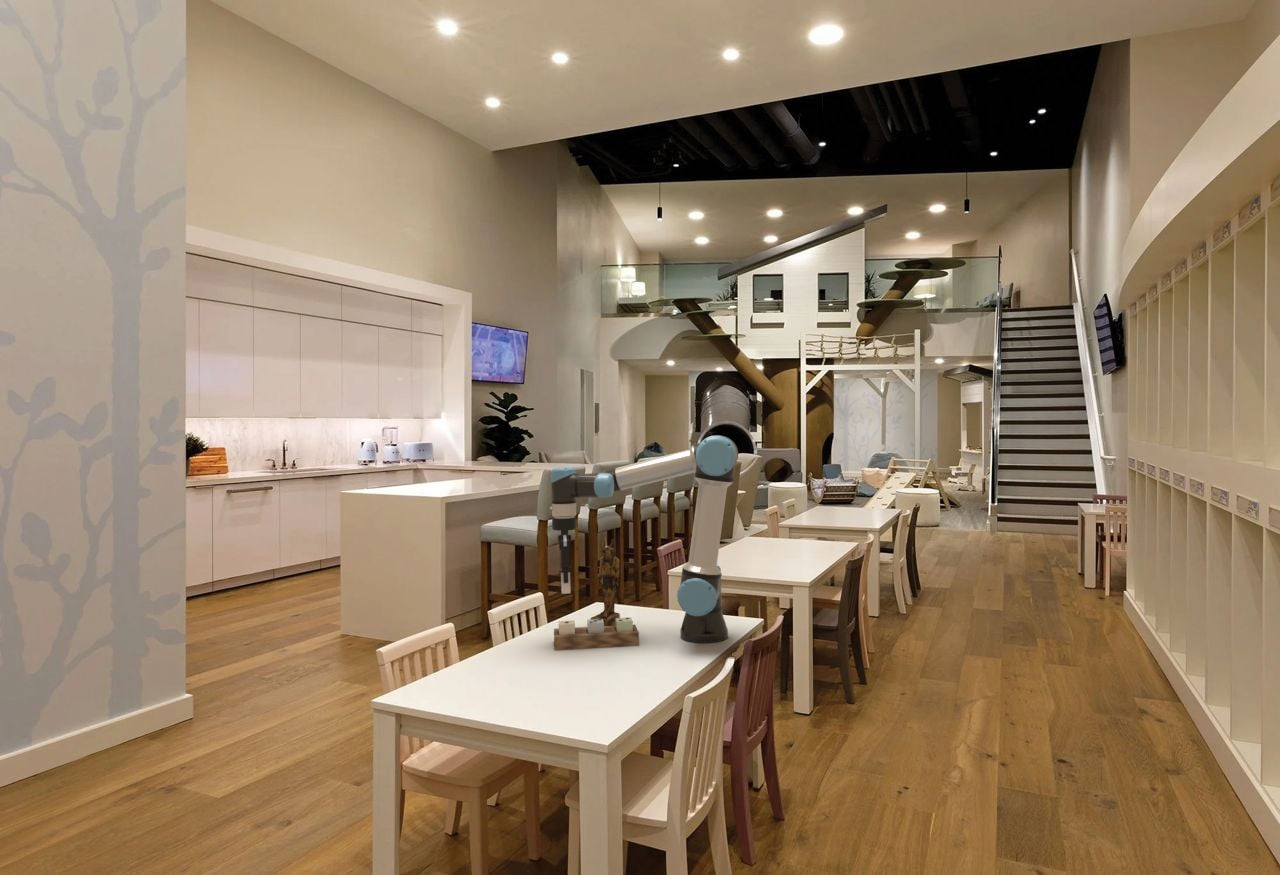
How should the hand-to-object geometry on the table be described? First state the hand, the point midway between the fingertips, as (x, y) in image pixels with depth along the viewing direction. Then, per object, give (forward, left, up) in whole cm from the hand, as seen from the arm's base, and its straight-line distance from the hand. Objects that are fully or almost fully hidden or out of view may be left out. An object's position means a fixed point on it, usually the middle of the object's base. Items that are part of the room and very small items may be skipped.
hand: (565, 591), depth 251 cm
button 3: (-6, -6, -14) cm, 16 cm away
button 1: (0, 0, -14) cm, 14 cm away
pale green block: (-13, -13, -14) cm, 23 cm away
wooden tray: (-6, -6, -17) cm, 19 cm away
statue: (+4, -23, -17) cm, 29 cm away
